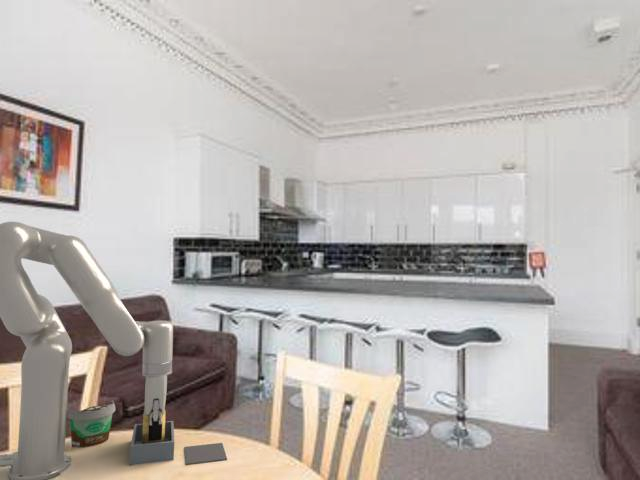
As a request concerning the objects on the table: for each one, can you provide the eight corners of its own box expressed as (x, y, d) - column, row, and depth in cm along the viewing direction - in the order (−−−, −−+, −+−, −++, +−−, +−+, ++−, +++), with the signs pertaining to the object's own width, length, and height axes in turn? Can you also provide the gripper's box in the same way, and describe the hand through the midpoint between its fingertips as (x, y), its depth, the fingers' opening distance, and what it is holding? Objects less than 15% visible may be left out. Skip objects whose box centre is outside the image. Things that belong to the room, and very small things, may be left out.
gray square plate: (186, 467, 107) (186, 463, 107) (184, 449, 116) (184, 446, 116) (226, 461, 110) (227, 458, 110) (222, 445, 119) (222, 442, 119)
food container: (76, 455, 111) (78, 415, 111) (65, 448, 115) (67, 410, 115) (122, 440, 121) (124, 404, 121) (111, 434, 124) (113, 399, 125)
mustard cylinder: (141, 455, 111) (143, 416, 111) (142, 446, 116) (144, 409, 116) (163, 453, 113) (165, 414, 113) (163, 444, 118) (165, 407, 118)
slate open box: (129, 467, 106) (130, 446, 106) (133, 442, 119) (134, 424, 120) (173, 461, 109) (174, 441, 109) (172, 438, 123) (173, 420, 123)
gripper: (143, 361, 122) (141, 422, 122) (140, 377, 106) (138, 448, 105) (171, 359, 125) (170, 419, 124) (172, 375, 109) (170, 444, 108)
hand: (155, 432), depth 115 cm, fingers open, 9 cm apart
